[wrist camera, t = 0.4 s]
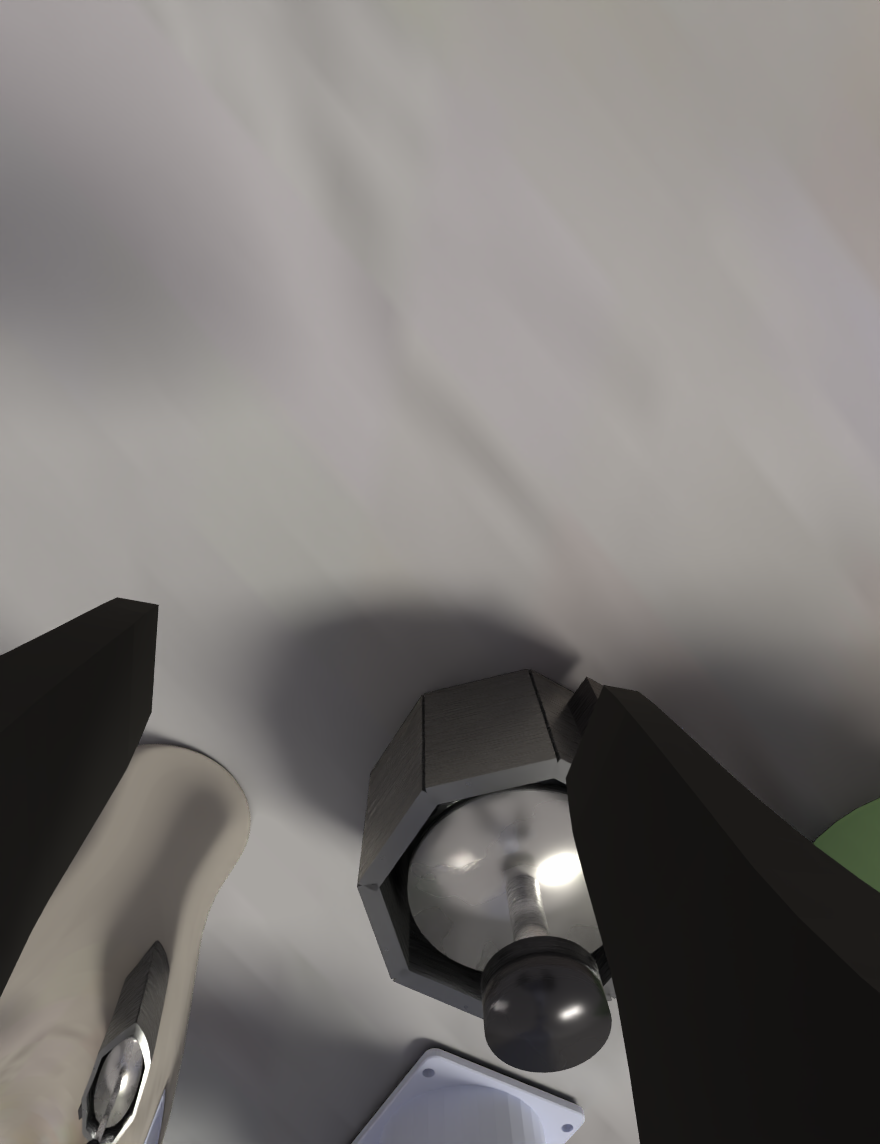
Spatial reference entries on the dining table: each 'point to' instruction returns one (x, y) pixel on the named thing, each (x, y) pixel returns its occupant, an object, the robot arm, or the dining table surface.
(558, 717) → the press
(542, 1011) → the plunger
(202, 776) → the beer glass
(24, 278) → the dining table surface
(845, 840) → the mug
